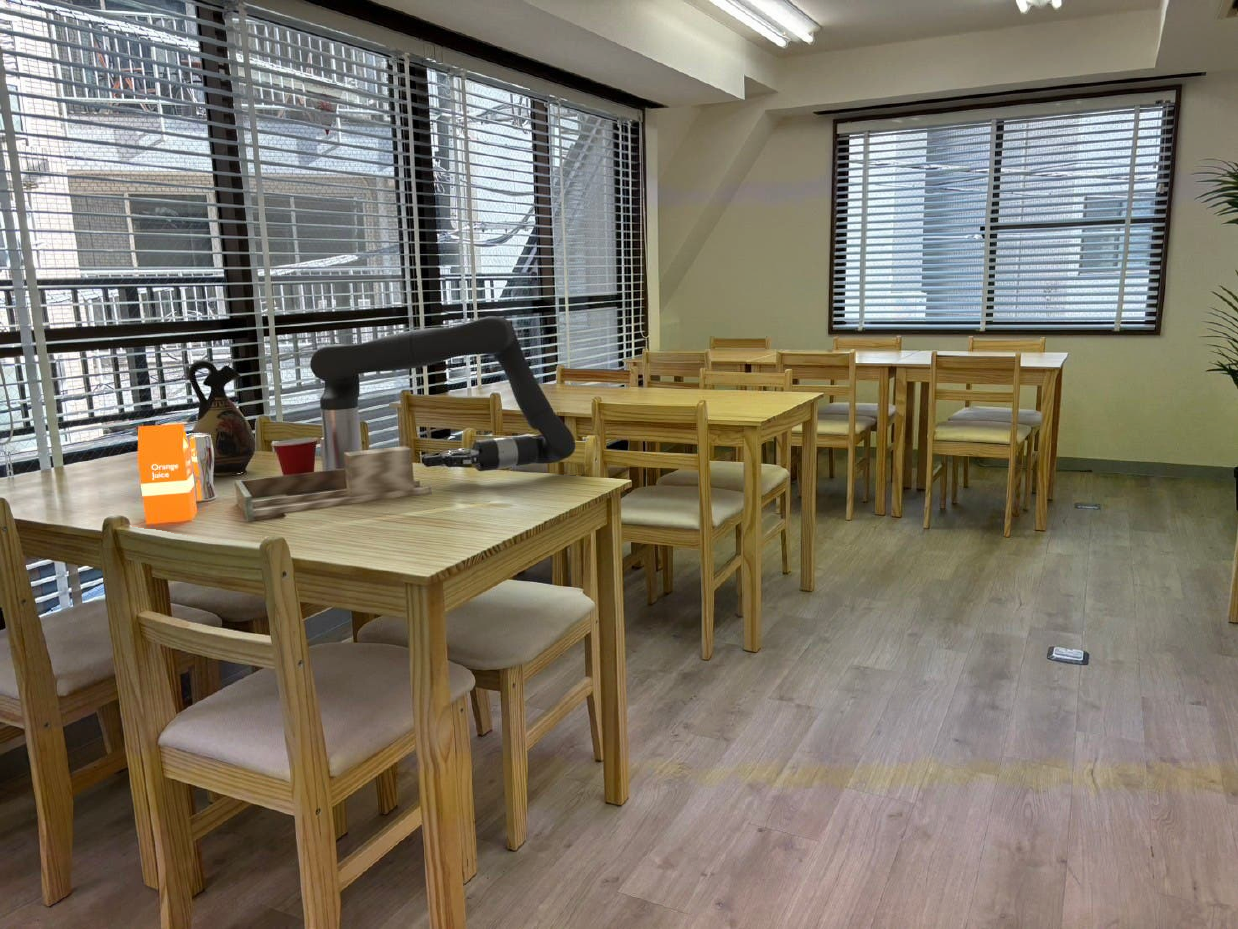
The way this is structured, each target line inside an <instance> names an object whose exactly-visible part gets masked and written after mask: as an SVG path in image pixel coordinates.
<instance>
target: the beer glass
mask: <svg viewBox="0 0 1238 929" xmlns="http://www.w3.org/2000/svg"><path fill="white" fill-rule="evenodd" d="M186 437H187V440H188V444H189V448H190V457H191V465H192V473H193V479H194V490H195V498H196V503H200V502H208V501H212V500H216V499H217V498H218V495H217V493H216V490H215V486H214V485H215V484H214V475H213V472H214V449H213V443H212V439H211V434H210V433H194V434H192V433H188V434H187V433H186ZM215 498H216V499H215Z"/></svg>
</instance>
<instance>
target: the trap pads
mask: <svg viewBox="0 0 1238 929" xmlns="http://www.w3.org/2000/svg"><path fill="white" fill-rule="evenodd" d="M328 491H336V489H335V488H331V489H323V490H315V491H307V492H299V494H300V495H304V494H312V493H320V492H328Z"/></svg>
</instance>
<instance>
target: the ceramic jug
mask: <svg viewBox="0 0 1238 929" xmlns="http://www.w3.org/2000/svg"><path fill="white" fill-rule="evenodd" d="M203 369H207V370H209V371H210V373H209V374H208V375H207V376H206V377H205V379H204V380H203V382H202V385H203V386H206V387H210V390H209V391H210V392H209V395H208V398H206V396H205V394H204V393H203V391H202V389H201V387H200V385H199V383H198V381H197V376H196V373H197V372H198V371H199V370H203ZM240 377H241V375H240V374H239V372H237V371H236V370H234V369H233V368H231V366H229V365H226V364H225V365H223V367H222V368H220V369H219V370H218V369H217V367H216V365H214V364H213V363H212V362H210V361H208V360H197V361H195V362H193V363H192V364H191V365H190V366H189V369H188V378H189V383H190V384H191V387H192V388H193V391H194V393H195V396H196V398H198V401H199V405H198V414H197V415H198V416H197V419H196V421H195V424H194V426H193V429H192V432H191V434H194V433H210V434H211V439H212V443H213V449H214V472H213V476H218V477H226V476H225V475H228V476H234V475H233V474H237V473H241V472H245V471H246V470H247V467H248V465H249V463H250V462H251V460H252V458H253V456H254V455H255V451H256V439H255V435H254V432H253V430H252V427H251V425H250V423H249V422H248V420H247V418H246V417H245V416H244V414H243V413H242V412H241V410H240V409H239V408H238V407H237V406H236V405H235V403H234V402H233V401H232V400H231V399H230V398H229V396H228V395H227V392H226V390H225V386H226V385H227V384H229V383H231V382H233V381H234V380H236V379H238V378H240ZM245 473H246V472H245Z"/></svg>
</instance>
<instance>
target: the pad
mask: <svg viewBox="0 0 1238 929" xmlns="http://www.w3.org/2000/svg"><path fill="white" fill-rule="evenodd" d="M280 497H288V496H287V495H286V494H283V495H275V496H267V497H259V498H252V501H257V500H265V499H273V498H280Z"/></svg>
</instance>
